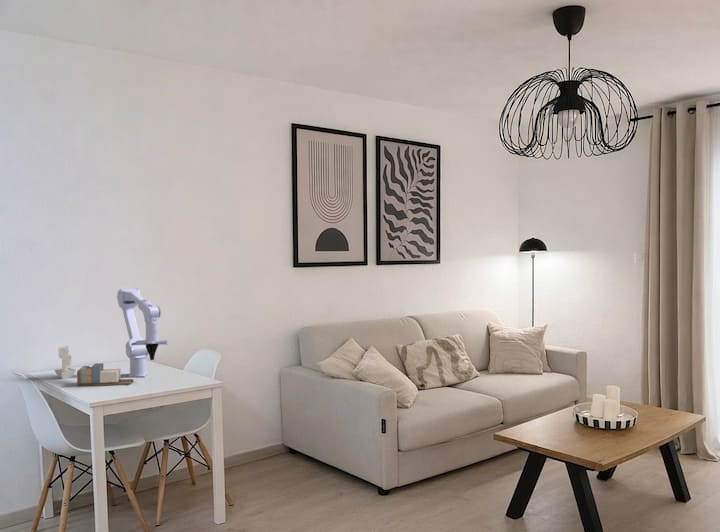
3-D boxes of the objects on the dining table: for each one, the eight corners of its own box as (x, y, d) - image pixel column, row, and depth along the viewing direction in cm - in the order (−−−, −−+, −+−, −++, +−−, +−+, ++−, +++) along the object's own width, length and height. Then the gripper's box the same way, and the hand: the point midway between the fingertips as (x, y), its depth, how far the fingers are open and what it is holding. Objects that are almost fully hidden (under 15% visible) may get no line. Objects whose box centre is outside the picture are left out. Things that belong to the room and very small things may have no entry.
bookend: (103, 379, 292) (103, 368, 292) (120, 379, 293) (120, 368, 293) (100, 382, 285) (99, 371, 285) (117, 382, 286) (116, 371, 286)
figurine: (62, 379, 297) (62, 348, 296) (53, 377, 302) (52, 346, 302) (77, 377, 302) (77, 346, 302) (67, 374, 308) (67, 344, 308)
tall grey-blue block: (95, 380, 291) (95, 363, 291) (103, 380, 292) (103, 363, 292) (92, 383, 285) (92, 365, 285) (100, 382, 286) (100, 365, 286)
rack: (82, 382, 291) (82, 365, 291) (133, 381, 295) (133, 364, 295) (77, 386, 283) (77, 368, 283) (129, 384, 287) (129, 367, 287)
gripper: (134, 332, 291) (134, 361, 292) (166, 332, 294) (166, 360, 294) (137, 330, 298) (137, 358, 299) (168, 330, 300) (168, 358, 301)
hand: (152, 359), depth 297 cm, fingers closed
